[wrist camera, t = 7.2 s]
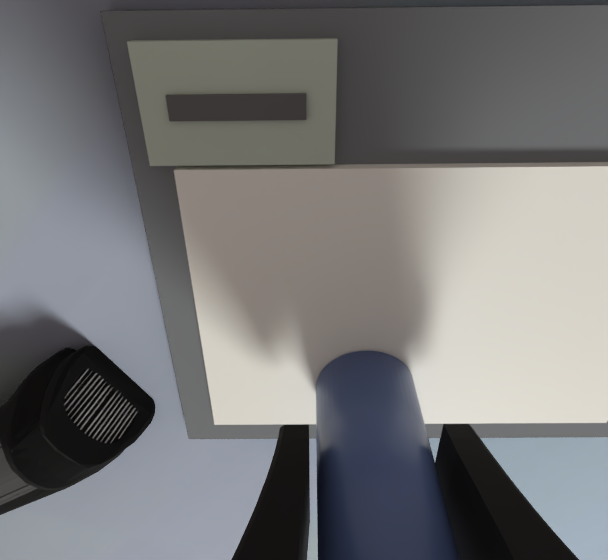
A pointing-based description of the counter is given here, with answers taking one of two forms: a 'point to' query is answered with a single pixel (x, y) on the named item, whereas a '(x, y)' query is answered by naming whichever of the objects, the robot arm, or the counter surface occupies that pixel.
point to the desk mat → (387, 126)
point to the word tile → (237, 100)
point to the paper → (403, 285)
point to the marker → (376, 465)
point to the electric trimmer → (67, 424)
